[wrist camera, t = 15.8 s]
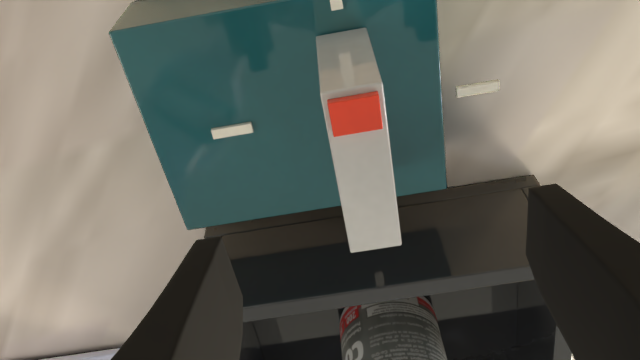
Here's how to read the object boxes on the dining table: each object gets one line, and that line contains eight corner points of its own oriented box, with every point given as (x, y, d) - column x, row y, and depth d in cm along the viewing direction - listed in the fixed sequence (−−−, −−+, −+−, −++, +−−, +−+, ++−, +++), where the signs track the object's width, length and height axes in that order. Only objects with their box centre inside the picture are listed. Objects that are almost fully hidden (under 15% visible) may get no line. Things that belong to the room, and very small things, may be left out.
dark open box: (271, 403, 33) (268, 496, 29) (205, 226, 26) (187, 316, 21) (524, 369, 32) (559, 459, 28) (534, 173, 25) (585, 257, 20)
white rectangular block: (385, 172, 21) (403, 251, 17) (341, 179, 21) (351, 259, 17) (366, 26, 17) (383, 86, 14) (315, 35, 18) (320, 97, 14)
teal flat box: (203, 201, 25) (192, 249, 22) (121, -24, 19) (94, 6, 17) (476, 157, 24) (498, 202, 21) (472, -91, 18) (501, -71, 16)
